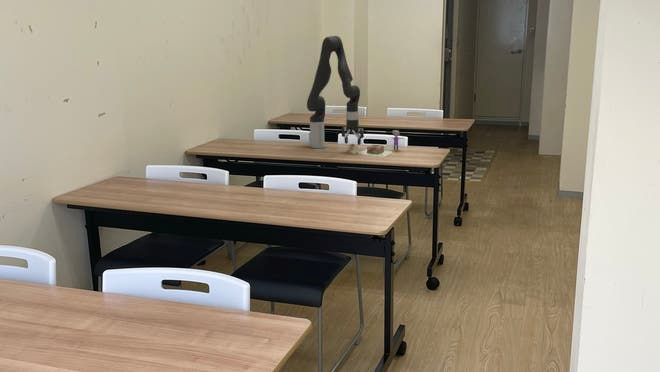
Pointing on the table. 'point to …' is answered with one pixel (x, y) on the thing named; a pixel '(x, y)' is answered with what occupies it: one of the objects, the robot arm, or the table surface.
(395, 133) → the toy
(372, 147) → the base brick
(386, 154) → the build plate
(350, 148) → the top brick
